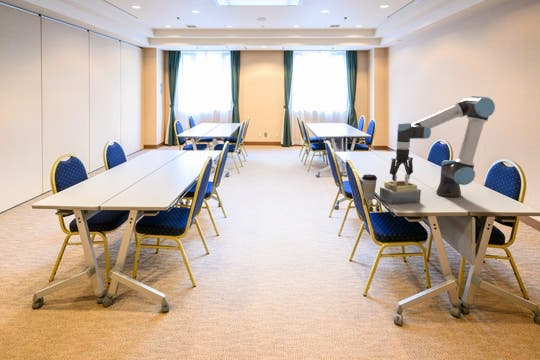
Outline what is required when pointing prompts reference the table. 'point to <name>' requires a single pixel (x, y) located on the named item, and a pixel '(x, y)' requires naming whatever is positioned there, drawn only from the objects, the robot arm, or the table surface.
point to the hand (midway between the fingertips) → (400, 184)
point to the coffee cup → (369, 186)
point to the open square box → (399, 193)
